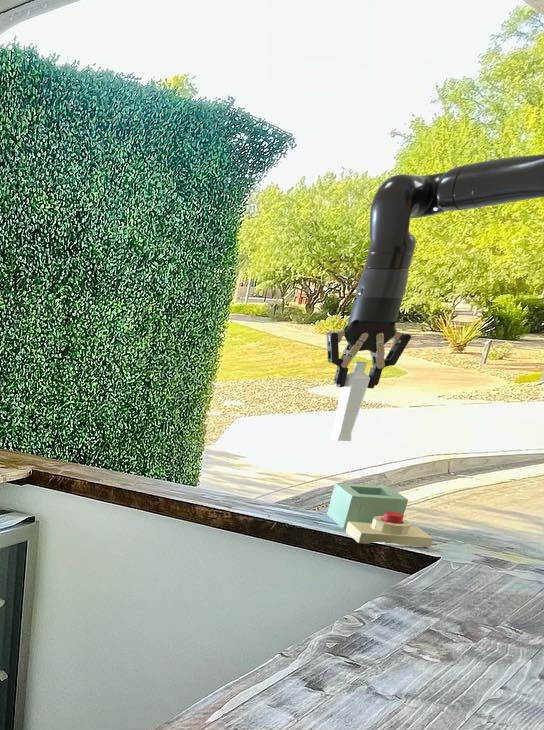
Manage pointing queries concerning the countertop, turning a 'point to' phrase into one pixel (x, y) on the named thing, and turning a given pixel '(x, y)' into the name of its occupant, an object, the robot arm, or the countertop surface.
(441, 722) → the countertop surface
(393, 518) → the release button
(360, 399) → the perfume bottle
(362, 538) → the control box
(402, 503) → the bottle holder
